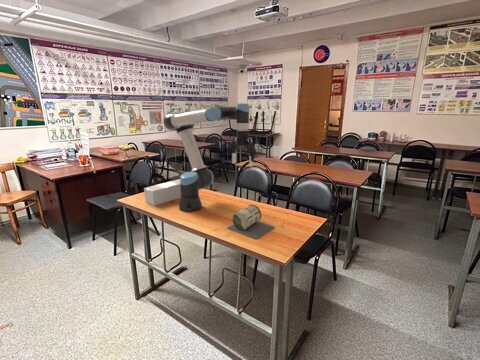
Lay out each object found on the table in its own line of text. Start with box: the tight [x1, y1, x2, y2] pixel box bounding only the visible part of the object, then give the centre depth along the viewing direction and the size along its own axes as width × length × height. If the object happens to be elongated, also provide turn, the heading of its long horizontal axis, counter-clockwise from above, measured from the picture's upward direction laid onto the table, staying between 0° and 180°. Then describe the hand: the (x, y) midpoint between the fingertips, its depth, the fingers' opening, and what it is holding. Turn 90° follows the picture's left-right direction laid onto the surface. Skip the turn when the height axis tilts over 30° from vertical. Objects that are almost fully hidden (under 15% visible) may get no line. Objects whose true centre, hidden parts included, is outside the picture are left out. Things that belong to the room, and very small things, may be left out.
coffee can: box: [232, 204, 262, 230], centre depth 148 cm, size 10×10×14 cm
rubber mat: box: [226, 220, 276, 240], centre depth 148 cm, size 20×18×1 cm
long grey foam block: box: [143, 178, 181, 207], centre depth 194 cm, size 32×11×11 cm, turn 140°
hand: (242, 164), depth 164 cm, fingers open, 13 cm apart
